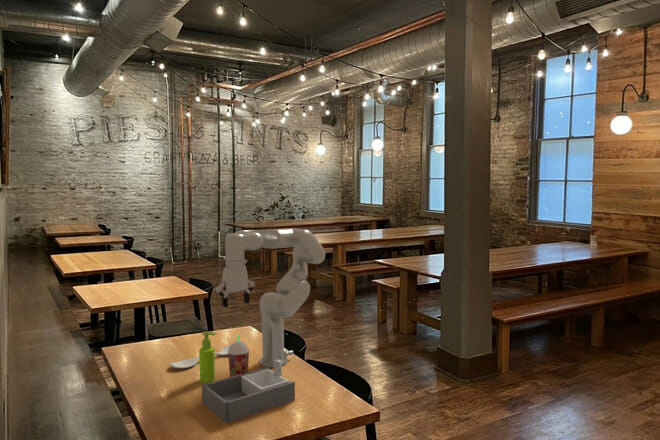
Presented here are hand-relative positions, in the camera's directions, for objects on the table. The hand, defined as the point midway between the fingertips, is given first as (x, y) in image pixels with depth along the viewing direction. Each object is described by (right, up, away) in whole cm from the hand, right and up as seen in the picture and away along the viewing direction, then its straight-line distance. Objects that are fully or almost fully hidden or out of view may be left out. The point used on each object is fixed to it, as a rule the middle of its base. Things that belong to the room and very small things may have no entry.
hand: (236, 304), depth 207 cm
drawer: (+15, -30, -17) cm, 38 cm away
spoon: (-18, -29, +21) cm, 40 cm away
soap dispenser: (-11, -31, -1) cm, 33 cm away
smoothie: (+2, -31, -5) cm, 31 cm away
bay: (+9, -32, -21) cm, 39 cm away
